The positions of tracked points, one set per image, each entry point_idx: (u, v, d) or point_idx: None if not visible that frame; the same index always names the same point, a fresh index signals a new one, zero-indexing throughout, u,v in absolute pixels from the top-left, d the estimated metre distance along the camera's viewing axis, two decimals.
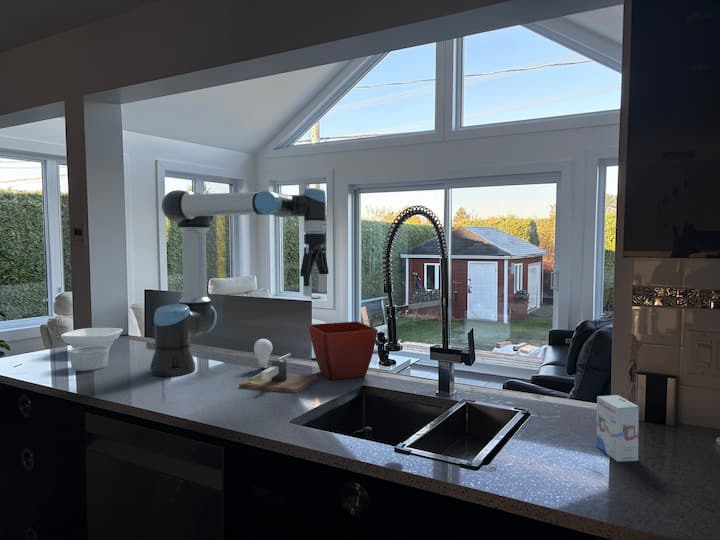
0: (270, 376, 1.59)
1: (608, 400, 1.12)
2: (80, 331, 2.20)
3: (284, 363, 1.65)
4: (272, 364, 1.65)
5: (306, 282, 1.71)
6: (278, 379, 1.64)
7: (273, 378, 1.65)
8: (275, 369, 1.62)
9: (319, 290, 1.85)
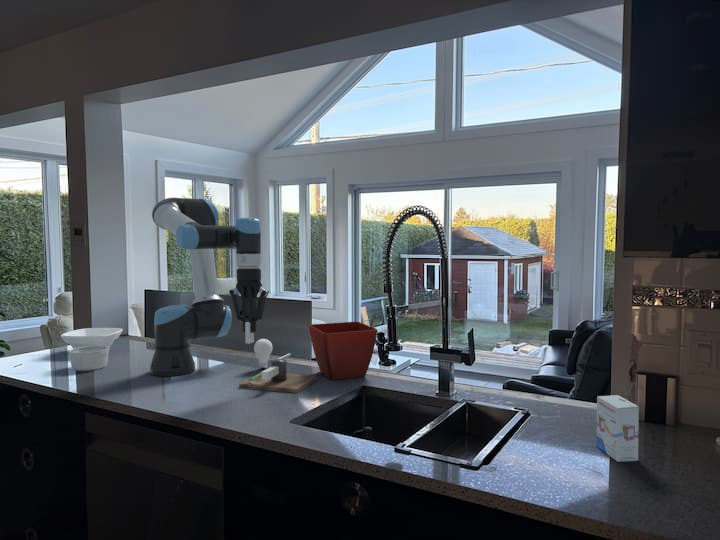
0: (270, 376, 1.59)
1: (608, 400, 1.12)
2: (80, 331, 2.20)
3: (284, 363, 1.65)
4: (272, 364, 1.65)
5: None
6: (278, 379, 1.64)
7: (273, 378, 1.65)
8: (275, 369, 1.62)
9: None
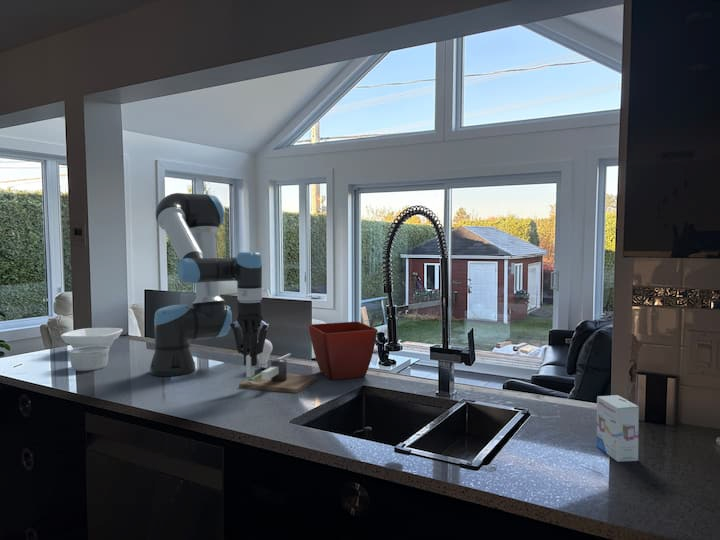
0: (270, 376, 1.59)
1: (608, 400, 1.12)
2: (80, 331, 2.20)
3: (284, 363, 1.65)
4: (272, 364, 1.65)
5: None
6: (278, 379, 1.64)
7: (273, 378, 1.65)
8: (275, 369, 1.62)
9: None
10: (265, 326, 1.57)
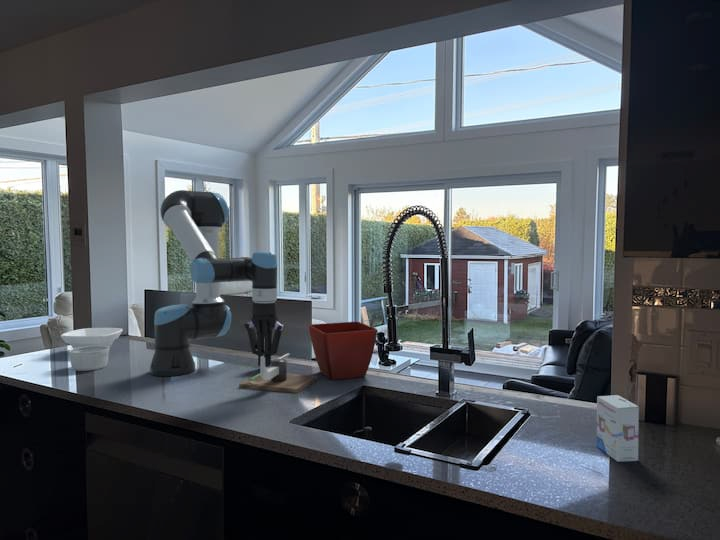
0: (271, 376, 1.58)
1: (608, 400, 1.12)
2: (80, 331, 2.20)
3: (284, 363, 1.65)
4: (272, 364, 1.65)
5: None
6: (278, 379, 1.64)
7: (273, 378, 1.64)
8: (276, 369, 1.62)
9: None
10: (280, 327, 1.56)
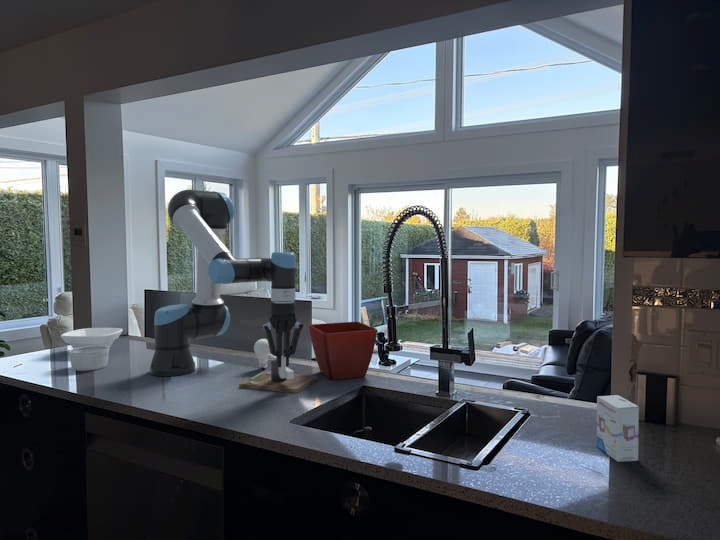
0: None
1: (608, 400, 1.12)
2: (80, 331, 2.20)
3: None
4: None
5: (277, 363, 1.58)
6: (284, 378, 1.65)
7: (279, 378, 1.64)
8: None
9: None
10: (302, 325, 1.60)
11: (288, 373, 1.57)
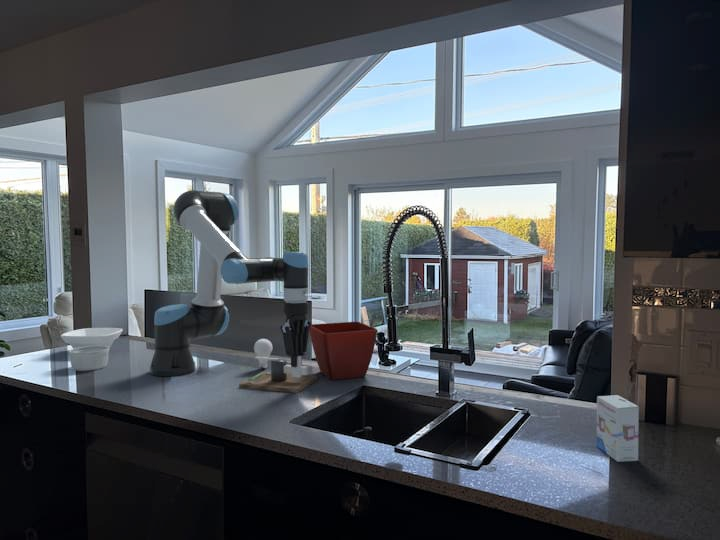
0: None
1: (608, 400, 1.12)
2: (80, 331, 2.20)
3: None
4: (282, 364, 1.64)
5: (293, 363, 1.58)
6: (286, 377, 1.67)
7: (284, 378, 1.65)
8: None
9: None
10: None
11: (305, 369, 1.62)
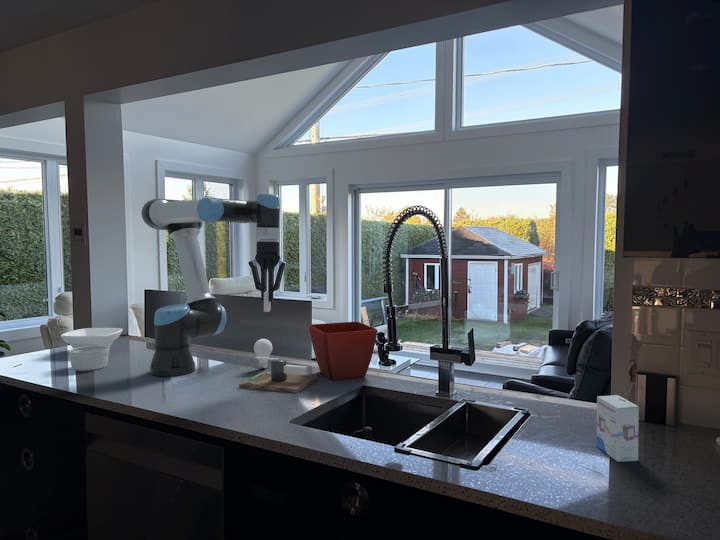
0: None
1: (608, 400, 1.12)
2: (80, 331, 2.20)
3: None
4: (282, 364, 1.64)
5: None
6: (286, 377, 1.67)
7: (284, 378, 1.65)
8: None
9: None
10: (283, 264, 1.68)
11: (305, 369, 1.62)
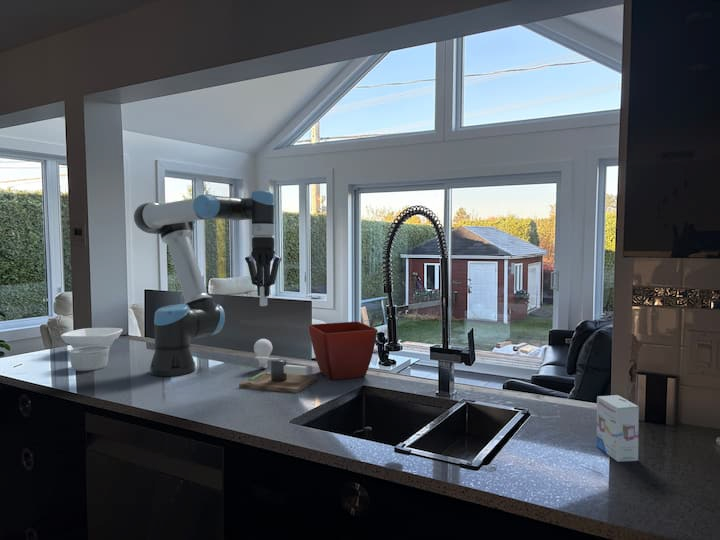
0: None
1: (608, 400, 1.12)
2: (80, 331, 2.20)
3: None
4: (282, 364, 1.64)
5: None
6: (286, 377, 1.67)
7: (284, 378, 1.65)
8: None
9: None
10: (277, 258, 1.71)
11: (305, 369, 1.62)
